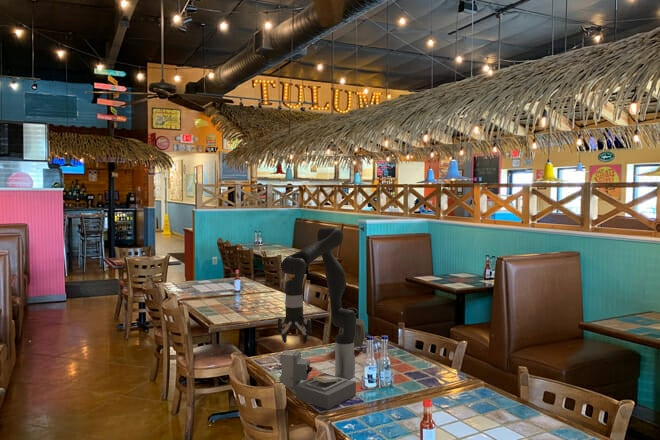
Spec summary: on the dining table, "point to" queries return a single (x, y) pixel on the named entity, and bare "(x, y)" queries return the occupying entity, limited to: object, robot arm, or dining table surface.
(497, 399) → the dining table surface
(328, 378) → the breaker rocker
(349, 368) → the robot arm
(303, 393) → the box
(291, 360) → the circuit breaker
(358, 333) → the tabletop clock
